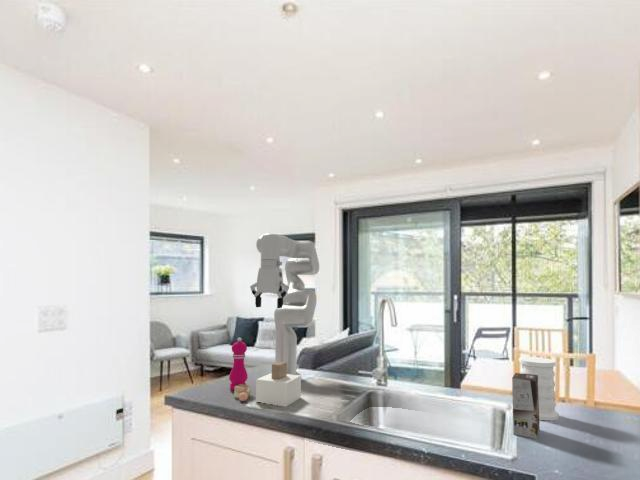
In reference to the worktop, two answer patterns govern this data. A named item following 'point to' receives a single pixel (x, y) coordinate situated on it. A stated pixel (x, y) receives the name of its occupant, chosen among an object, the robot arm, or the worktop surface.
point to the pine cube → (241, 390)
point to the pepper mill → (238, 364)
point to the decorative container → (542, 384)
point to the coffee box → (525, 405)
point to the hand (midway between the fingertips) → (269, 307)
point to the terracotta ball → (243, 396)
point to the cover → (278, 386)
